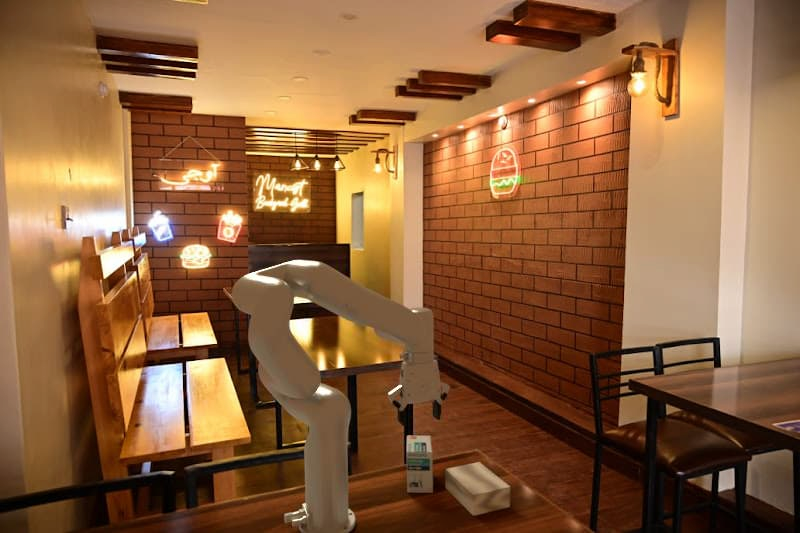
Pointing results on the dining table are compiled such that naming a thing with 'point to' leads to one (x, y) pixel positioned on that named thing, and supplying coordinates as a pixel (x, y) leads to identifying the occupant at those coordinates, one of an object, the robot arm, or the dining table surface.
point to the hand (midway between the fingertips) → (419, 421)
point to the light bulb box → (419, 464)
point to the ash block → (477, 488)
